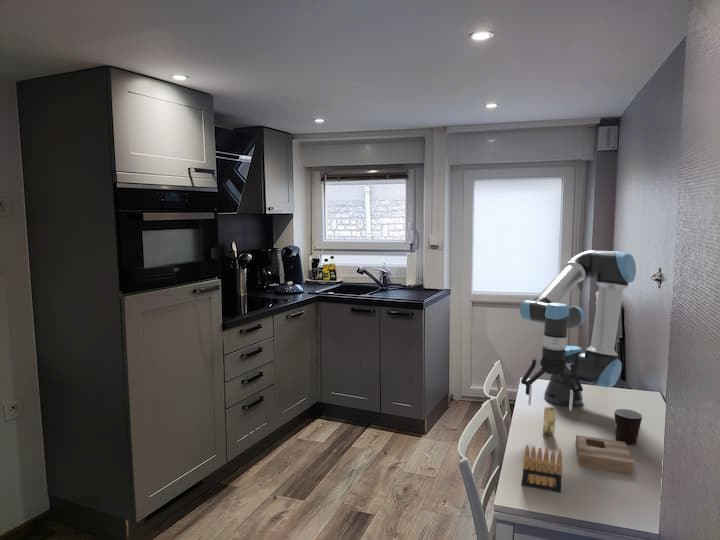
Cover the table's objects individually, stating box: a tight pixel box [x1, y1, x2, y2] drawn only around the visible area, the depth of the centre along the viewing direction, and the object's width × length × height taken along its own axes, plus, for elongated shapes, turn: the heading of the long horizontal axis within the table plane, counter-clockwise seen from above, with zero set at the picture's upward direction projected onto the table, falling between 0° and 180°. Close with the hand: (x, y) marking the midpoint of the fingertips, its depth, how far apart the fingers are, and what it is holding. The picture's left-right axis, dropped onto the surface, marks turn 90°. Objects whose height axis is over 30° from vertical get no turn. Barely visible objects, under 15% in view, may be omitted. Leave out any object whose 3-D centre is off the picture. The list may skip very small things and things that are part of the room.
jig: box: [574, 434, 634, 476], centre depth 164 cm, size 15×15×4 cm
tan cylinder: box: [542, 406, 557, 439], centre depth 181 cm, size 4×4×10 cm
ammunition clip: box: [521, 444, 563, 494], centre depth 146 cm, size 11×2×12 cm, turn 71°
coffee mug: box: [614, 408, 643, 446], centre depth 177 cm, size 12×9×10 cm
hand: (549, 406), depth 180 cm, fingers open, 13 cm apart
